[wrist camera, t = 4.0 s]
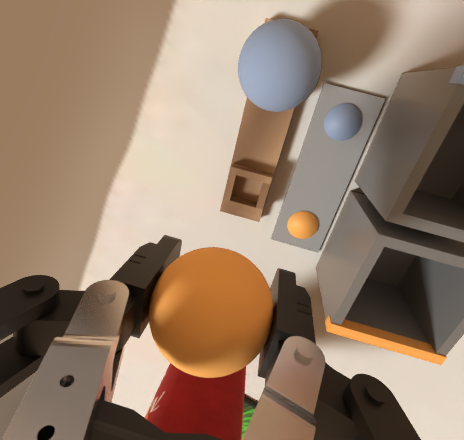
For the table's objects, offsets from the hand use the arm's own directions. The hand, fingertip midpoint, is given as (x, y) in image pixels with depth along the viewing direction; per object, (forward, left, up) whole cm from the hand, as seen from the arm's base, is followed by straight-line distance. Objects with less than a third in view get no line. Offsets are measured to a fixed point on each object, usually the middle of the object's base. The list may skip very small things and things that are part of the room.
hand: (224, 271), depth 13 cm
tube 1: (-11, -6, -11) cm, 17 cm away
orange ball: (0, 0, +2) cm, 2 cm away
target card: (-5, -2, -11) cm, 12 cm away
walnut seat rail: (0, -4, -11) cm, 12 cm away
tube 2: (-11, +2, -11) cm, 16 cm away
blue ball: (0, -8, -7) cm, 11 cm away
